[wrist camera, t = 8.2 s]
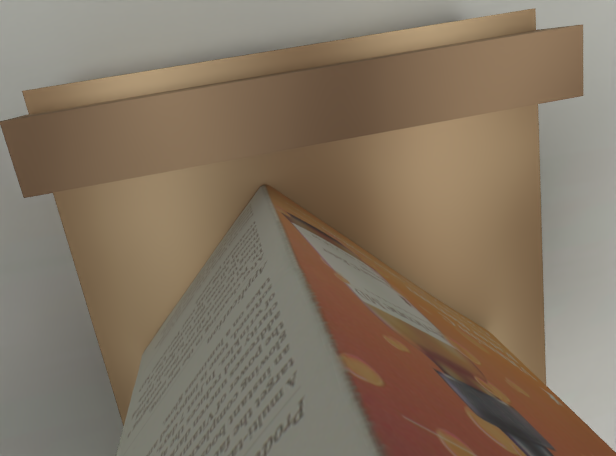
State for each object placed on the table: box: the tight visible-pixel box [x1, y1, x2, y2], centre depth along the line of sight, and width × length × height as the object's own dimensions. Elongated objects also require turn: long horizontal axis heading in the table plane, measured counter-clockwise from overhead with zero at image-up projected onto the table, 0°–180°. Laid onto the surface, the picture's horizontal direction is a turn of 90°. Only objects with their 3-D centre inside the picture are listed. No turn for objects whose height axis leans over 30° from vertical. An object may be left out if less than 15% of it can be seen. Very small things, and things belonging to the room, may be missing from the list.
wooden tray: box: [0, 9, 583, 426], centre depth 16 cm, size 12×15×6 cm
